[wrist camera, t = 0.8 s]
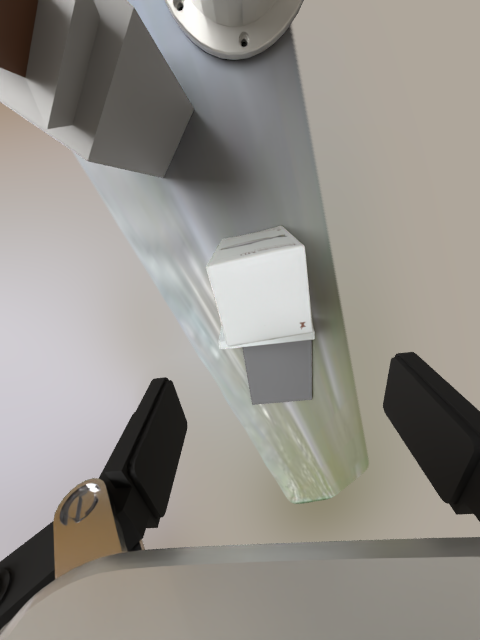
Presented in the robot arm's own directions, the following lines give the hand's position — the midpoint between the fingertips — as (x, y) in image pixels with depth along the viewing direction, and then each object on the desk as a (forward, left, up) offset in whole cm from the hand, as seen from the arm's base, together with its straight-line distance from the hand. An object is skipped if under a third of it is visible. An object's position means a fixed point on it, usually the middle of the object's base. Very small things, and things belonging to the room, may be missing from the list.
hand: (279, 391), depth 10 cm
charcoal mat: (+18, +1, -21) cm, 28 cm away
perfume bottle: (-15, -9, -21) cm, 28 cm away
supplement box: (0, 0, -22) cm, 22 cm away
